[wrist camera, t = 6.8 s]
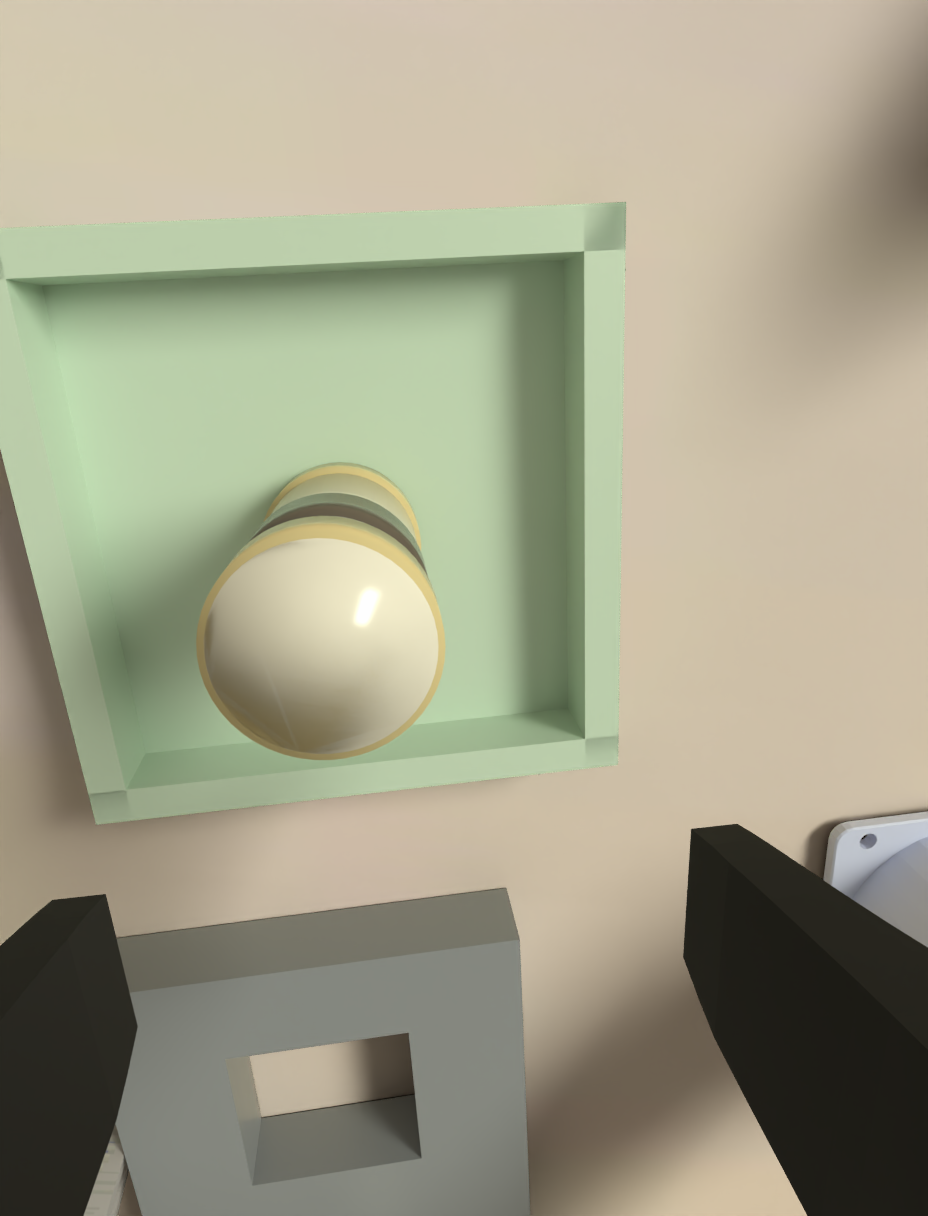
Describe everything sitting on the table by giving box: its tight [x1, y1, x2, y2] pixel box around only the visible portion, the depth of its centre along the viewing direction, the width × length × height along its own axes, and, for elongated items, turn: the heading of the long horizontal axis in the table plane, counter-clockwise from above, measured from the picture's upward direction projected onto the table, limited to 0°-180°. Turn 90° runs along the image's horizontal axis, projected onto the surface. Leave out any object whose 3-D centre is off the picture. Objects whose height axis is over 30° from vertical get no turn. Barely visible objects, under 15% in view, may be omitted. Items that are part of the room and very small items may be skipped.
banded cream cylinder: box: [196, 462, 446, 760], centre depth 14 cm, size 3×3×7 cm
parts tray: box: [0, 202, 626, 825], centre depth 17 cm, size 12×12×2 cm
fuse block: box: [115, 888, 530, 1216], centre depth 23 cm, size 11×18×2 cm, turn 3°
